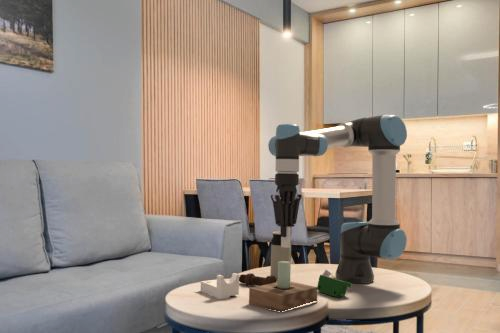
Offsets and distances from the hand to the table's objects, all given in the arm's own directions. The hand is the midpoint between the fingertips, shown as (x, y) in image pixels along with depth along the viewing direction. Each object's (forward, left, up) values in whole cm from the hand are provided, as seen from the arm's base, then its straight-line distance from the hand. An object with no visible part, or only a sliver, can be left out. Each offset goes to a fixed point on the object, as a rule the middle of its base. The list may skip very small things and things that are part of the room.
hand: (285, 247), depth 153 cm
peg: (0, 0, -17) cm, 17 cm away
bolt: (-11, -22, -18) cm, 31 cm away
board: (0, 0, -18) cm, 18 cm away
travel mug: (-31, -28, -18) cm, 45 cm away
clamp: (-24, +3, -18) cm, 30 cm away
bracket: (+7, -23, -18) cm, 30 cm away
